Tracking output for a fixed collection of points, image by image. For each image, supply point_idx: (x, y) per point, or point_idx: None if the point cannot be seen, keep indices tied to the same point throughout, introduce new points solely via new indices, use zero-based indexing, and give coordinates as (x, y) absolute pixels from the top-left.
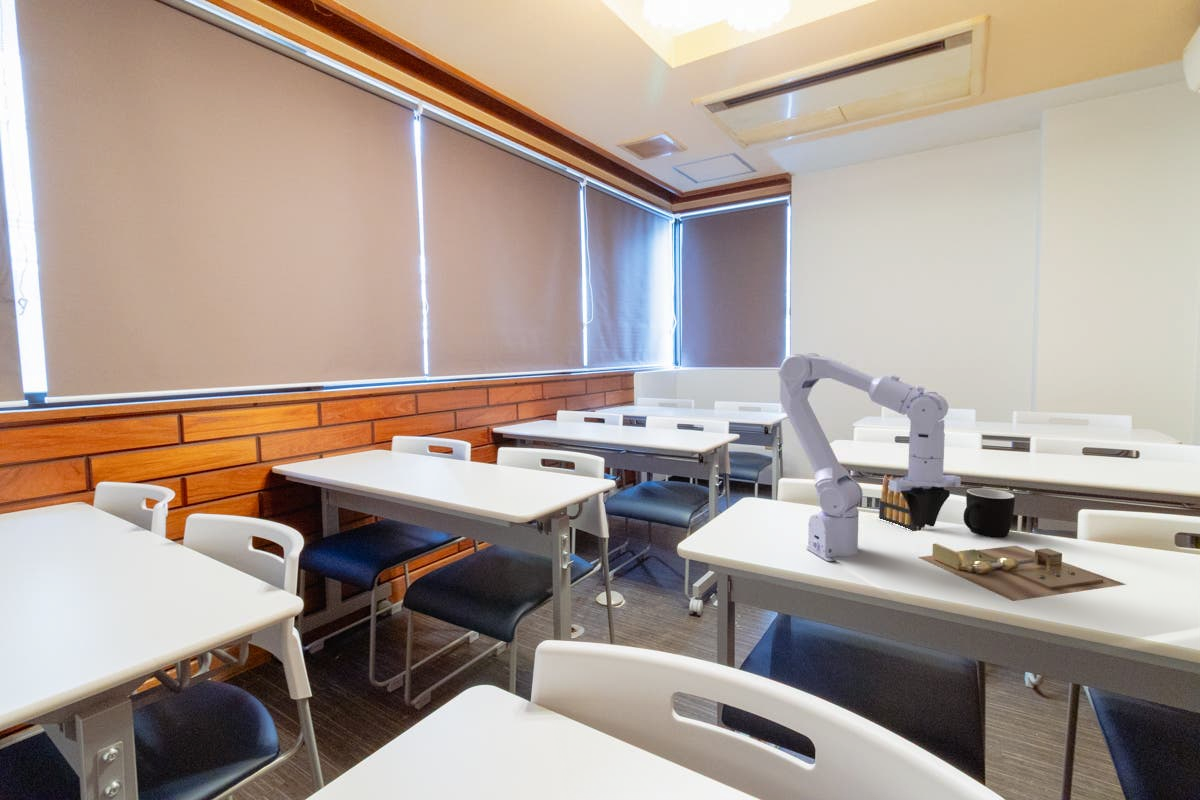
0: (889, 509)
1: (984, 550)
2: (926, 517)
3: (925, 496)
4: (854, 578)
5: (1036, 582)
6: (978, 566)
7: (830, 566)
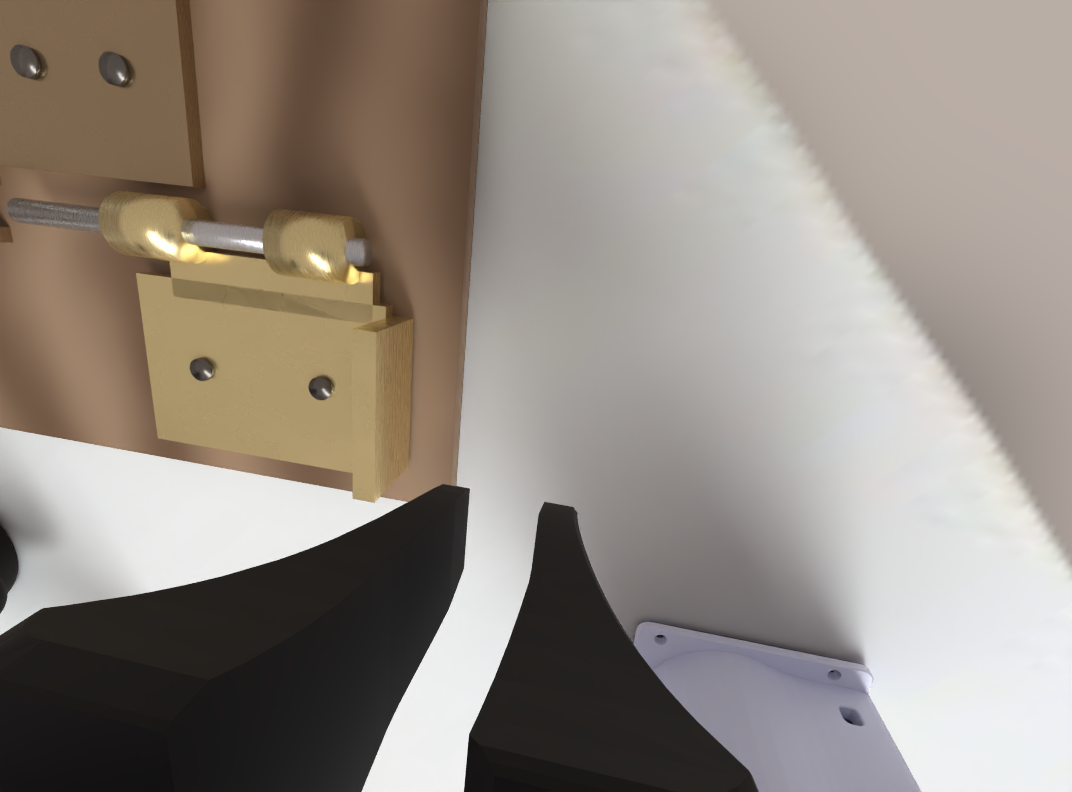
0: None
1: (107, 435)
2: (442, 579)
3: (679, 782)
4: (938, 490)
5: (186, 41)
6: (347, 239)
7: (903, 630)
